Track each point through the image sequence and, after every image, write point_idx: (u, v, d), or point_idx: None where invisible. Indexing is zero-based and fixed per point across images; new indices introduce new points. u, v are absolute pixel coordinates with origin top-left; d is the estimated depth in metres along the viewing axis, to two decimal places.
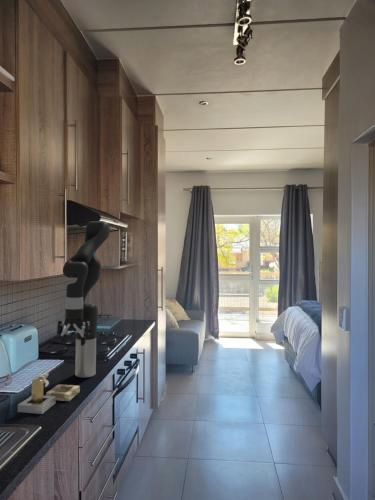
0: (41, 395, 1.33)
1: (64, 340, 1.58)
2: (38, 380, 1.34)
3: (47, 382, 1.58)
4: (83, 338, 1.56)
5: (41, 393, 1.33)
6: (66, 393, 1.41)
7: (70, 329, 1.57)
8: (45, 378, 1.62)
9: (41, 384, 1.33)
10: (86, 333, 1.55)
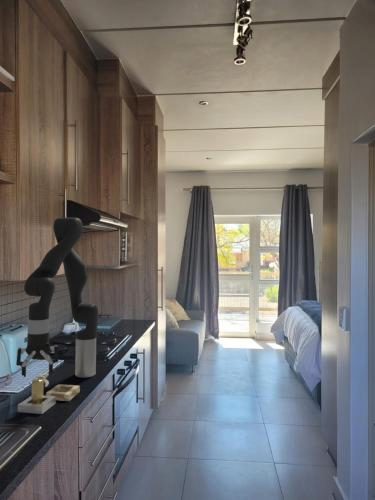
0: (41, 395, 1.33)
1: None
2: (38, 380, 1.34)
3: (47, 382, 1.59)
4: None
5: (41, 393, 1.33)
6: (66, 393, 1.41)
7: None
8: (45, 378, 1.62)
9: (41, 384, 1.33)
10: None
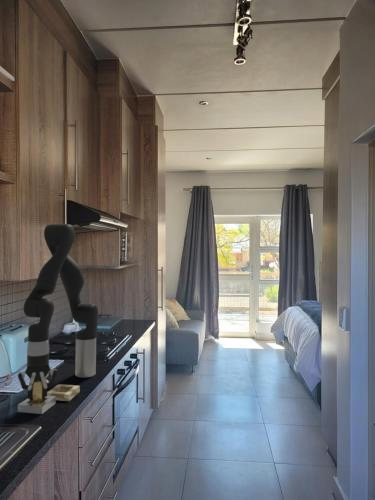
0: (41, 395, 1.33)
1: (43, 392, 1.35)
2: (38, 380, 1.34)
3: (47, 382, 1.59)
4: None
5: (41, 393, 1.33)
6: (66, 393, 1.41)
7: None
8: None
9: (41, 384, 1.33)
10: None
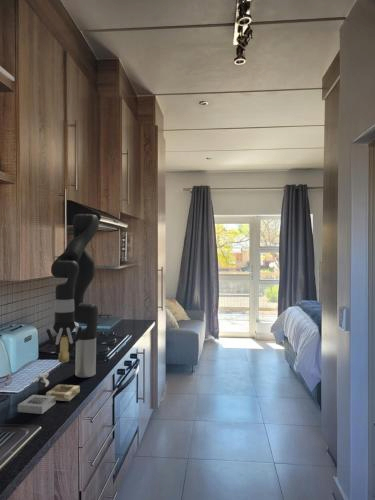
0: (67, 349, 1.45)
1: (69, 347, 1.46)
2: (64, 336, 1.45)
3: (47, 382, 1.59)
4: None
5: (67, 347, 1.45)
6: (66, 393, 1.41)
7: None
8: (45, 378, 1.63)
9: (67, 339, 1.45)
10: None
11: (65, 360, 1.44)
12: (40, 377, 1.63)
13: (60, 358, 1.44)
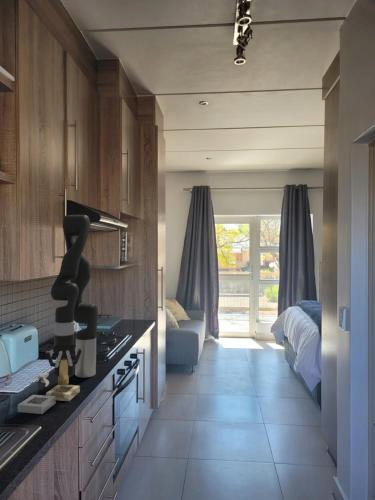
0: (67, 372, 1.44)
1: None
2: (64, 358, 1.45)
3: (47, 382, 1.59)
4: None
5: (67, 370, 1.44)
6: (66, 393, 1.41)
7: None
8: (45, 378, 1.63)
9: (67, 362, 1.44)
10: None
11: (65, 383, 1.44)
12: (40, 377, 1.63)
13: (60, 381, 1.43)
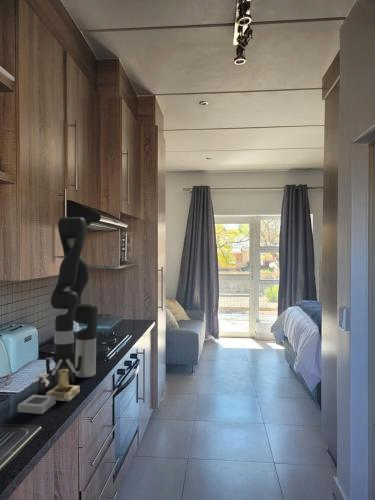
0: (67, 384, 1.44)
1: None
2: (64, 370, 1.45)
3: (47, 382, 1.59)
4: None
5: (67, 382, 1.44)
6: (66, 393, 1.41)
7: None
8: (45, 378, 1.63)
9: (67, 374, 1.44)
10: None
11: None
12: (40, 377, 1.64)
13: None
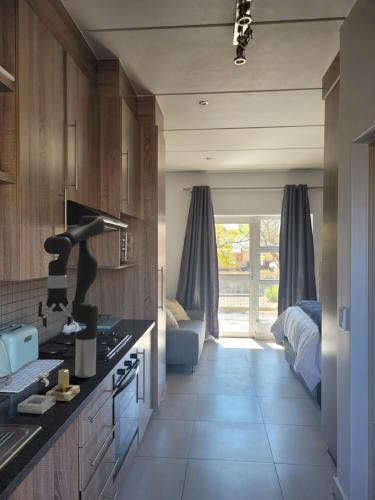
0: (67, 384, 1.44)
1: (67, 321, 1.48)
2: (64, 370, 1.45)
3: (47, 382, 1.59)
4: None
5: (67, 382, 1.44)
6: (66, 393, 1.41)
7: None
8: (45, 378, 1.63)
9: (67, 374, 1.44)
10: None
11: None
12: (40, 377, 1.64)
13: None
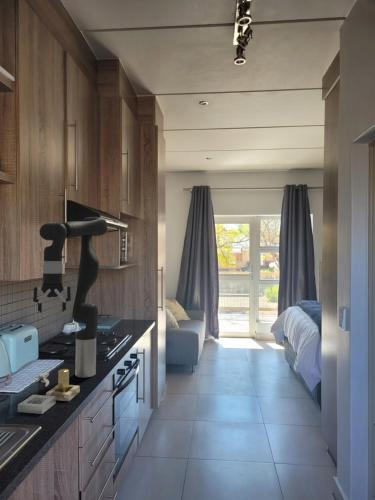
0: (67, 384, 1.44)
1: (62, 306, 1.49)
2: (64, 370, 1.45)
3: (47, 382, 1.59)
4: None
5: (67, 382, 1.44)
6: (66, 393, 1.41)
7: None
8: (45, 378, 1.63)
9: (67, 374, 1.44)
10: None
11: None
12: (40, 377, 1.64)
13: None
